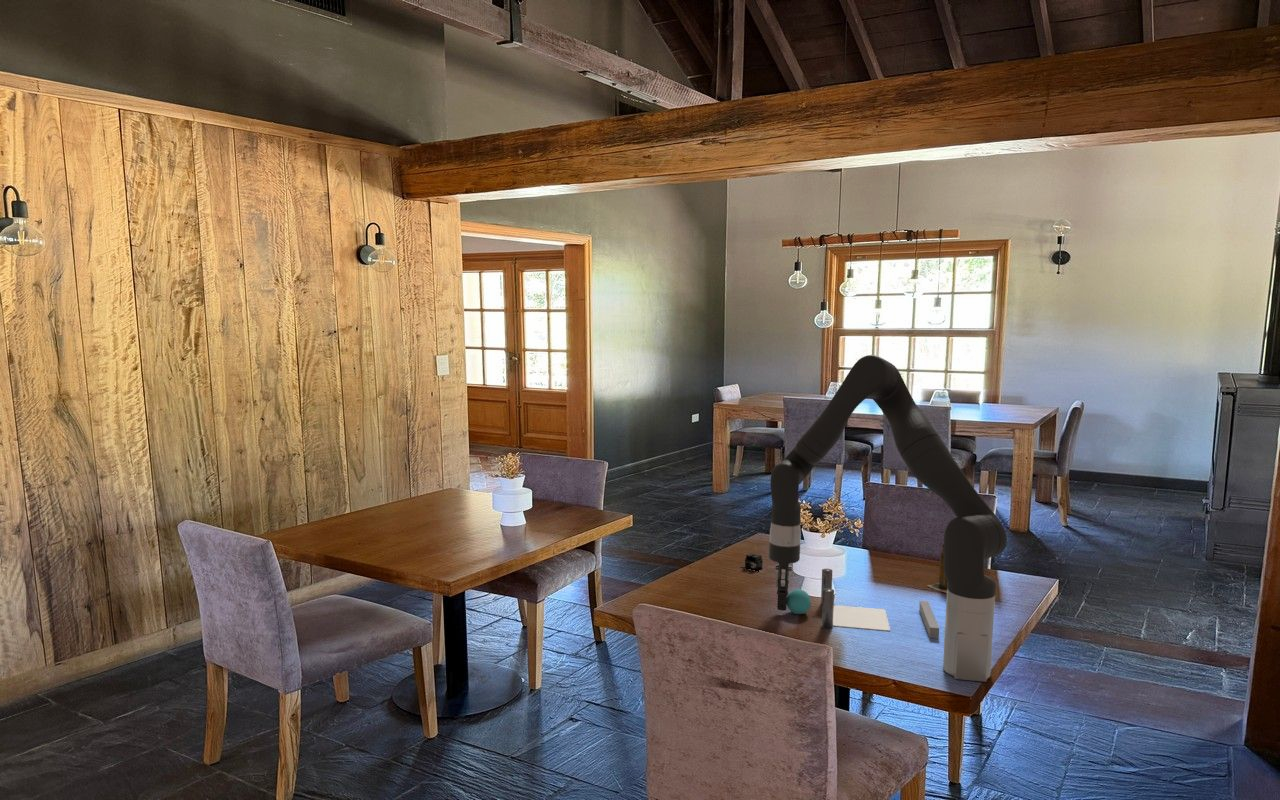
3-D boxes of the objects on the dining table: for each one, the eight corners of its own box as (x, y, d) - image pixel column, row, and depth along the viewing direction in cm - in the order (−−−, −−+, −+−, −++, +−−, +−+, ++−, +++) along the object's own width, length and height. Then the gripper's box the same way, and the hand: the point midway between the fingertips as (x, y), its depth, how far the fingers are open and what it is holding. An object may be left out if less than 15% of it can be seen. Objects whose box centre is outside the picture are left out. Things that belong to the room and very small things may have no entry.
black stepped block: (729, 568, 237) (729, 553, 236) (743, 563, 242) (743, 548, 242) (764, 577, 229) (765, 562, 228) (778, 572, 234) (779, 556, 233)
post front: (832, 629, 189) (834, 592, 188) (821, 628, 190) (823, 591, 189) (832, 625, 192) (834, 588, 191) (821, 624, 192) (822, 588, 191)
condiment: (969, 589, 219) (971, 546, 218) (949, 594, 215) (952, 550, 213) (946, 581, 225) (948, 539, 224) (926, 586, 221) (928, 544, 219)
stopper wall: (938, 638, 185) (939, 628, 184) (929, 637, 185) (930, 627, 185) (927, 610, 202) (928, 601, 202) (919, 610, 202) (919, 600, 202)
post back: (831, 606, 205) (832, 572, 204) (820, 605, 205) (822, 571, 204) (831, 602, 207) (832, 569, 206) (820, 602, 208) (821, 568, 207)
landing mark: (890, 631, 189) (890, 630, 189) (829, 625, 192) (829, 625, 192) (885, 610, 202) (885, 609, 202) (828, 605, 205) (828, 604, 205)
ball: (788, 618, 196) (813, 615, 196) (785, 594, 197) (809, 591, 196) (787, 611, 202) (811, 609, 202) (784, 588, 203) (807, 585, 202)
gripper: (800, 549, 190) (797, 620, 192) (800, 535, 203) (797, 601, 204) (768, 547, 191) (765, 617, 193) (770, 532, 204) (767, 598, 206)
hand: (781, 609), depth 199 cm, fingers closed
